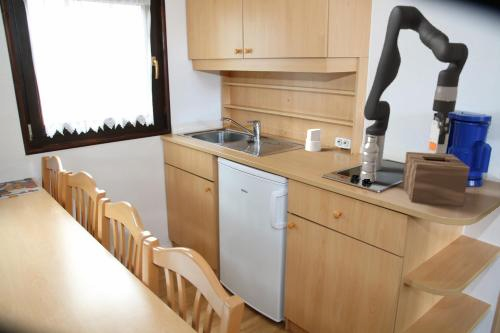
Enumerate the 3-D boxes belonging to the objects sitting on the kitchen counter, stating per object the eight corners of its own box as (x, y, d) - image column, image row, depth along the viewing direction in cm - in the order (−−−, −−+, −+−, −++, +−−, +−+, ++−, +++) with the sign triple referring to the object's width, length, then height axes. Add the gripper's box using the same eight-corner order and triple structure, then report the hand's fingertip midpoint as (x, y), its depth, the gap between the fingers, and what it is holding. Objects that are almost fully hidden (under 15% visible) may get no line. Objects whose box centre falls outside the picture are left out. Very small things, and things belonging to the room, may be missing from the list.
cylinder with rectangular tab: (313, 152, 219) (315, 131, 216) (302, 149, 226) (303, 129, 223) (323, 150, 225) (325, 130, 222) (312, 147, 232) (313, 127, 228)
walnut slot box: (401, 185, 163) (406, 151, 159) (446, 189, 160) (452, 154, 156) (411, 202, 145) (416, 164, 140) (462, 206, 141) (469, 167, 137)
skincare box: (427, 150, 150) (431, 119, 147) (437, 149, 151) (442, 119, 147) (435, 153, 144) (440, 122, 141) (446, 153, 145) (451, 122, 141)
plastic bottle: (376, 184, 164) (381, 139, 159) (360, 183, 165) (364, 138, 160) (374, 180, 170) (379, 136, 165) (359, 178, 172) (363, 135, 166)
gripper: (429, 96, 149) (423, 138, 154) (439, 100, 136) (432, 145, 140) (450, 97, 148) (443, 139, 153) (462, 101, 134) (454, 146, 139)
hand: (438, 142), depth 146 cm, fingers closed on skincare box, 7 cm apart
